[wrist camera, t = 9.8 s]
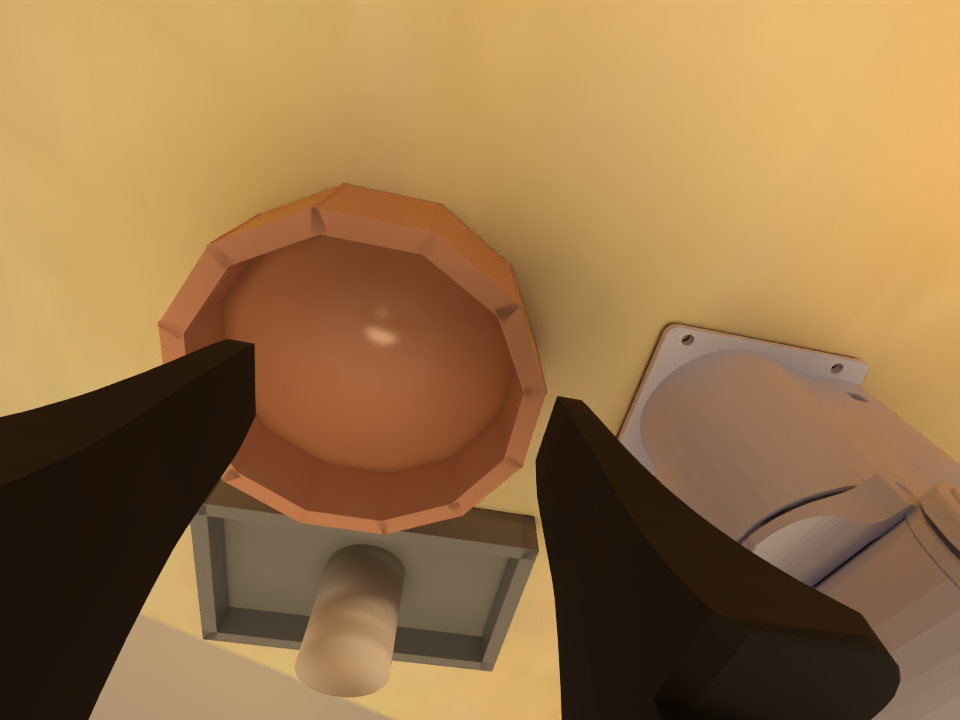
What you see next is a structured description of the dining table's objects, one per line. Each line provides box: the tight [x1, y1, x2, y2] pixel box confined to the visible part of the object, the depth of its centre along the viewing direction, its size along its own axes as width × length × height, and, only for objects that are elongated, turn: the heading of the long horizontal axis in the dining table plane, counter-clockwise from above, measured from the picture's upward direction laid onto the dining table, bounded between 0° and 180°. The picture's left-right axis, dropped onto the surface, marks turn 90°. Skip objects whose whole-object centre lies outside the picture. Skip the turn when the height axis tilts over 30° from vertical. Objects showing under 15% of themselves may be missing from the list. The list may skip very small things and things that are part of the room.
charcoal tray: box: [190, 478, 539, 671], centre depth 28 cm, size 17×11×2 cm, turn 78°
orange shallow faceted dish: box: [157, 183, 547, 535], centre depth 20 cm, size 14×14×4 cm
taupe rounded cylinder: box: [295, 544, 405, 697], centre depth 26 cm, size 4×4×6 cm
